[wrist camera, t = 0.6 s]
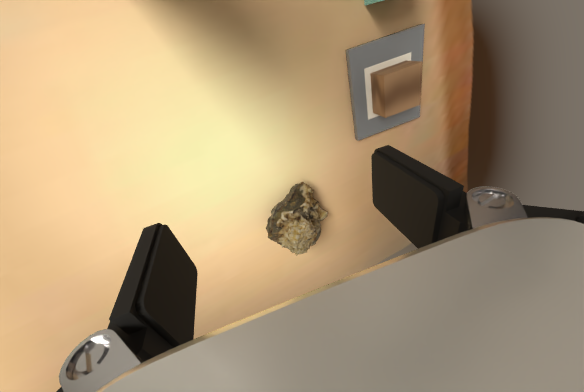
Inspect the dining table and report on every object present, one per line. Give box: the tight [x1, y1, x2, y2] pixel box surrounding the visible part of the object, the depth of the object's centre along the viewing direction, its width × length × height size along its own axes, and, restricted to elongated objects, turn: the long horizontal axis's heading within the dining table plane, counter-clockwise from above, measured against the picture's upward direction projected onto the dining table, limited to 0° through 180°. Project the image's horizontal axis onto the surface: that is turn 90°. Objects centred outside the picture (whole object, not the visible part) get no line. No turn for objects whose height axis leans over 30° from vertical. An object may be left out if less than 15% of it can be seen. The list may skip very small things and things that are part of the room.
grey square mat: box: [346, 24, 425, 140], centre depth 44 cm, size 16×14×1 cm
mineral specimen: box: [266, 182, 328, 255], centre depth 50 cm, size 14×13×10 cm
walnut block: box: [370, 60, 423, 118], centre depth 42 cm, size 7×7×4 cm
